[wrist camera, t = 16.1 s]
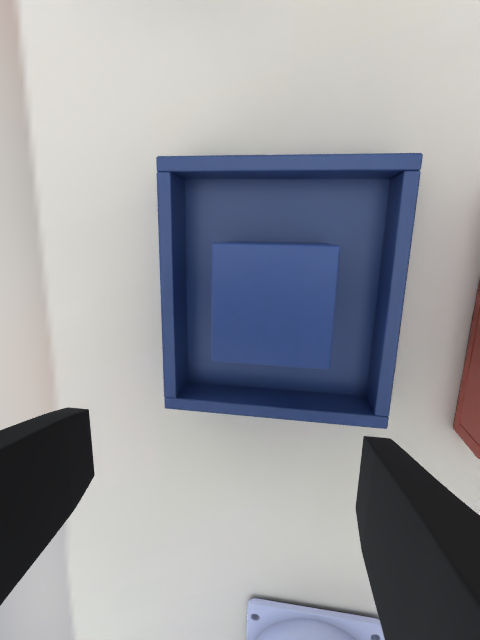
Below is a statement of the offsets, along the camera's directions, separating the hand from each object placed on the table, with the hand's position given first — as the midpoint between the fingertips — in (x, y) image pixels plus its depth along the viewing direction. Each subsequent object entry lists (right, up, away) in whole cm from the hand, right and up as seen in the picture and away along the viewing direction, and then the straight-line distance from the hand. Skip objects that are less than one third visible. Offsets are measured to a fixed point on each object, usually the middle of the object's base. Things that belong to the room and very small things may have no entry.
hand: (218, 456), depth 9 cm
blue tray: (+2, +5, +8) cm, 10 cm away
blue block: (+2, +5, +8) cm, 9 cm away
